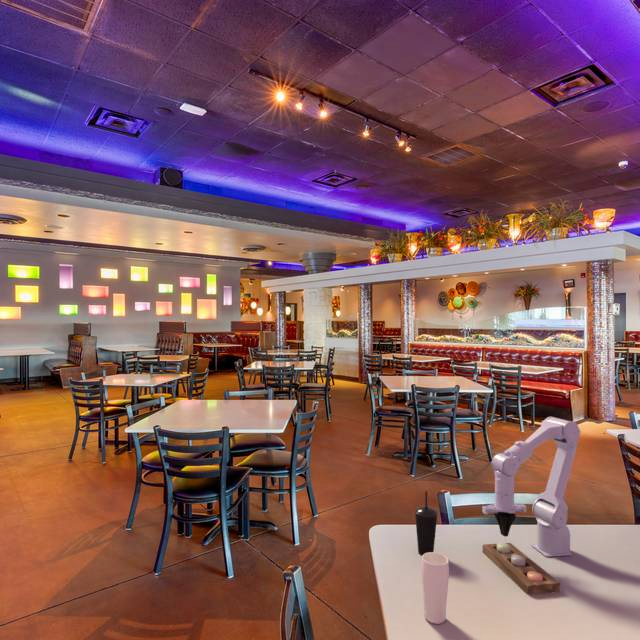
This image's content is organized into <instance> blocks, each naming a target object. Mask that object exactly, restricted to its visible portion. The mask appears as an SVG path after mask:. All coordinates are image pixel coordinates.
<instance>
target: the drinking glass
mask: <svg viewBox="0 0 640 640" xmlns="http://www.w3.org/2000/svg"><path fill="white" fill-rule="evenodd" d="M449 579H450V562H449V558H448V557H447V556H446V555H444V554H442V553H439V552H436V551H434V552H428V553H425V554H423V556H422V555H421V584H422V597H423V598H422V599H423V617H424V618H425V619H427V621H428V622H429V621H430V622H429V623H431V624H434V623H435V625H439V624H440V623H441V624H443V623H444V622H445V620H446V617H447V615H446V613H447V599H448V592H449V591H448V590H449V583H450V582H449V581H450V580H449Z"/></svg>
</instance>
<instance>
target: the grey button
mask: <svg viewBox="0 0 640 640" xmlns="http://www.w3.org/2000/svg"><path fill="white" fill-rule="evenodd" d="M511 564H513V565H514V566H515V567H524V566H525V558H524V557H523V556H520V555H512V556H511Z"/></svg>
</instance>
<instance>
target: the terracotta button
mask: <svg viewBox="0 0 640 640" xmlns="http://www.w3.org/2000/svg"><path fill="white" fill-rule="evenodd" d="M527 578H528V579H530V580H531V581H532V582H539V581H543V576H542V575H541V574H540V573H538V572H535V571H529V572H527Z"/></svg>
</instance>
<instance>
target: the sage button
mask: <svg viewBox="0 0 640 640" xmlns="http://www.w3.org/2000/svg"><path fill="white" fill-rule="evenodd" d="M506 543H507V542H498V543H496V544H497V551H498V552H499V553H500V554H506V553H510V546H509V545H508V544H506Z"/></svg>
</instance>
